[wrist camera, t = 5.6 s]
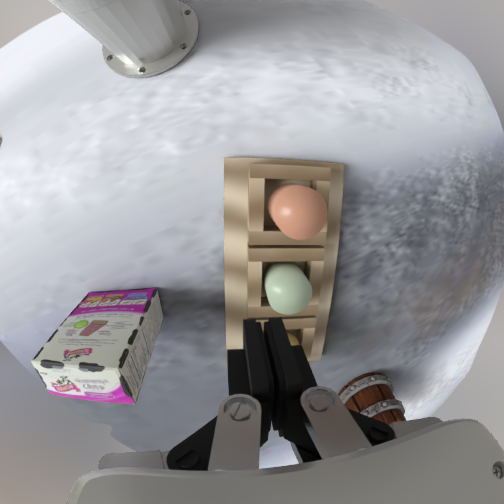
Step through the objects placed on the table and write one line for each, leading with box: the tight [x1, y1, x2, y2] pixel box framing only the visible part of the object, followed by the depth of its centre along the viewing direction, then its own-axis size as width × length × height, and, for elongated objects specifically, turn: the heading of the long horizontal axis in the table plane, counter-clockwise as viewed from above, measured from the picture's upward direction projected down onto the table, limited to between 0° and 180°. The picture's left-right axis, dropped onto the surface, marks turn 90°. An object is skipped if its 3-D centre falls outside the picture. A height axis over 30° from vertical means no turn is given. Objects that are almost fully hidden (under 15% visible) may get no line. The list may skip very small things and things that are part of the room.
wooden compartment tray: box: [224, 158, 344, 365], centre depth 33 cm, size 28×14×4 cm, turn 179°
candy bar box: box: [31, 288, 164, 404], centre depth 27 cm, size 11×5×16 cm, turn 95°
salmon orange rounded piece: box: [268, 183, 328, 240], centre depth 26 cm, size 5×5×5 cm
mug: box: [338, 373, 406, 425], centre depth 38 cm, size 12×14×15 cm
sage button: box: [263, 261, 312, 315], centre depth 31 cm, size 5×5×5 cm
